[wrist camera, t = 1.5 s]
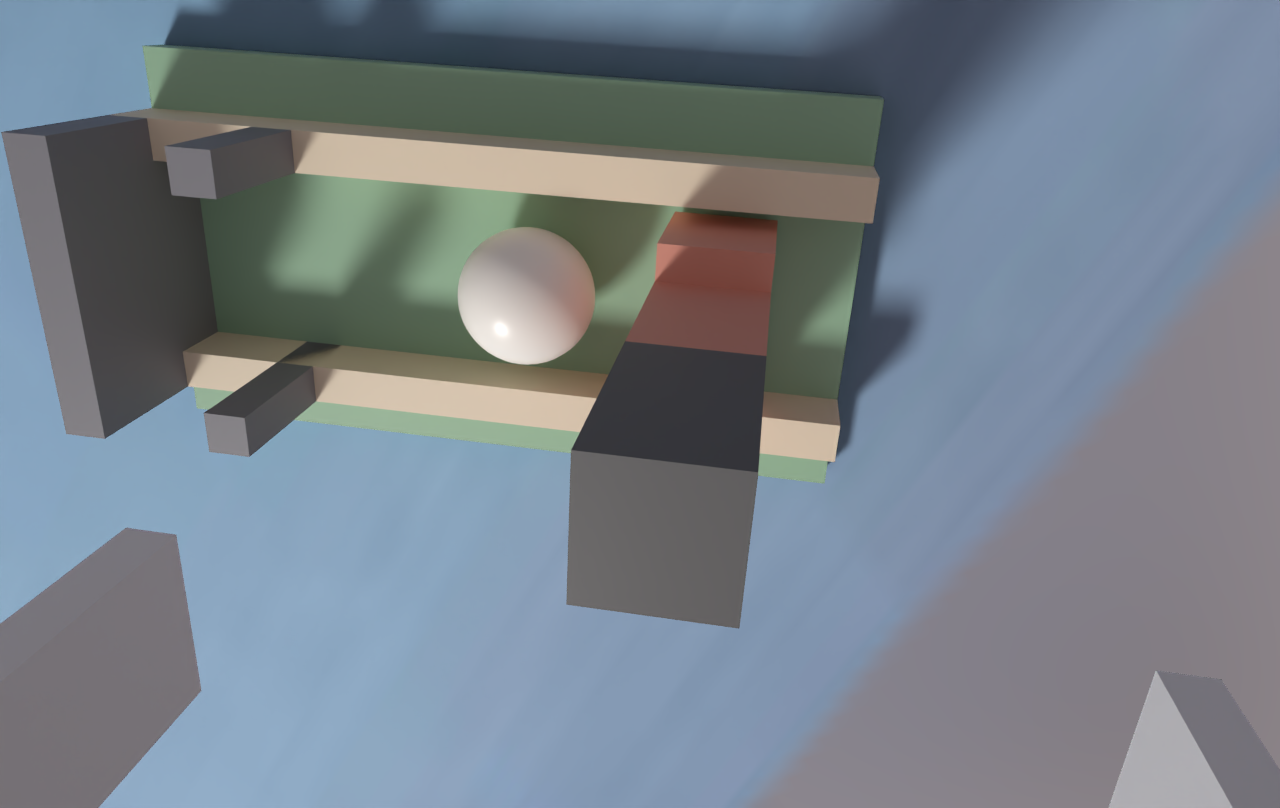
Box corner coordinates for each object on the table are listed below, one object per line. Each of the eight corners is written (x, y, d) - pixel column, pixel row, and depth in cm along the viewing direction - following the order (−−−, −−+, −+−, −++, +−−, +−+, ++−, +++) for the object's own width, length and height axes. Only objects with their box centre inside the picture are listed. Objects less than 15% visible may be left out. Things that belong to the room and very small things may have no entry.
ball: (481, 208, 28) (435, 238, 25) (609, 220, 28) (582, 252, 24) (482, 332, 30) (439, 376, 26) (603, 344, 29) (577, 392, 26)
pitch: (163, 44, 29) (-16, 55, 22) (880, 96, 26) (909, 125, 20) (212, 397, 34) (78, 488, 27) (823, 469, 31) (831, 588, 25)
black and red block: (675, 211, 27) (572, 393, 14) (777, 220, 27) (765, 414, 14) (663, 369, 29) (565, 651, 16) (758, 379, 29) (734, 675, 16)
